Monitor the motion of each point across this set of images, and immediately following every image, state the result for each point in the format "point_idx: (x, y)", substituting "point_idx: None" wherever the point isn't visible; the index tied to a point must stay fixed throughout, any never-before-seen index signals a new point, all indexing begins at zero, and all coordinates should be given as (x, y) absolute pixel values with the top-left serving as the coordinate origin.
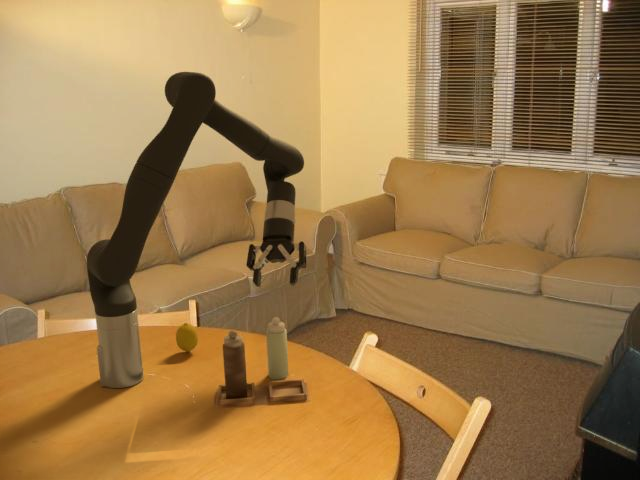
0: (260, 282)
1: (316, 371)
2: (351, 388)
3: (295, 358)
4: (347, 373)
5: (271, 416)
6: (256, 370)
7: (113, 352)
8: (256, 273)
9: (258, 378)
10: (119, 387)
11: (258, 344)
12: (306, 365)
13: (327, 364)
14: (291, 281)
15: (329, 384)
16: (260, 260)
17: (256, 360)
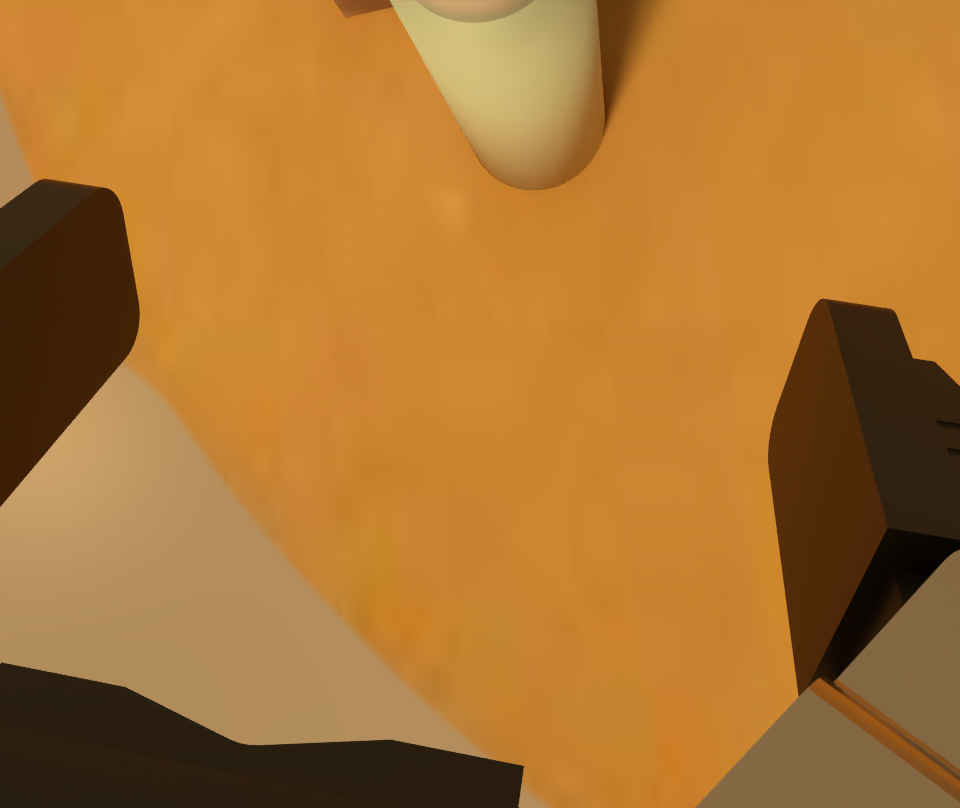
0: (778, 494)
1: (295, 261)
2: (82, 20)
3: (450, 482)
4: None
5: None
6: (715, 275)
7: None
8: (923, 449)
9: (682, 142)
10: None
11: None
12: (366, 359)
13: (228, 374)
14: (63, 183)
15: (209, 69)
16: (912, 740)
17: (740, 454)
